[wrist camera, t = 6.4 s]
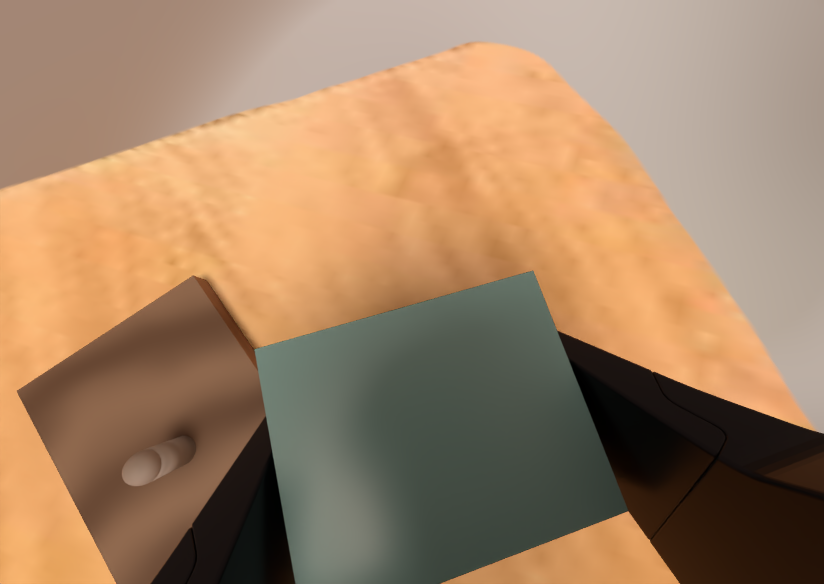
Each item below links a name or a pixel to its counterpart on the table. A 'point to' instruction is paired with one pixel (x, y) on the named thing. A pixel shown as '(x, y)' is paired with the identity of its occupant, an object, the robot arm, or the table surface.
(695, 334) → the table surface
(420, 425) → the seafoam square prism
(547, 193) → the table surface
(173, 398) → the stud board
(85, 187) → the table surface
